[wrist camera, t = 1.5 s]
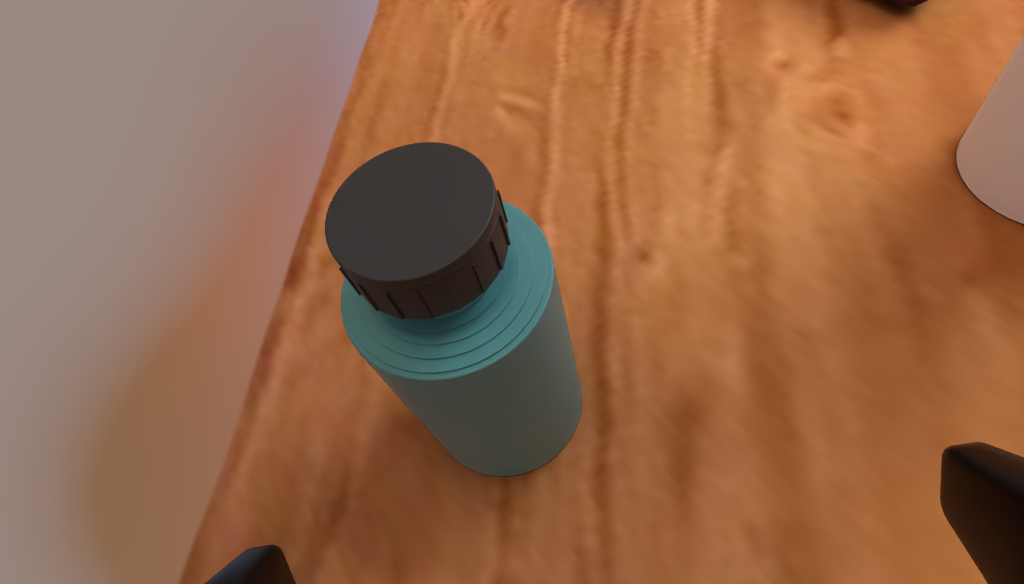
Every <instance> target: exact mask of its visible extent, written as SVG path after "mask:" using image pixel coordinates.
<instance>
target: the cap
mask: <svg viewBox="0 0 1024 584" xmlns="http://www.w3.org/2000/svg"><path fill="white" fill-rule="evenodd" d="M507 222H508V219H507V216H506V213H505V209H504V206H503V203H502V199H501V196H500V193H499V190H497V191H496V188H495V185H494V181H493V179H492V176H491V174H490V172H489V171H488V169H487V167H486V166H485V165H484V164H483V163H482V162H481V161H480V160H479V159H478V158H477V157H476V156H474V155H473V154H471V153H470V152H468V151H466V150H464V149H462V148H459V147H457V146H453V145H450V144H444V143H433V142H426V143H415V144H409V145H405V146H401V147H397V148H394V149H392V150H389V151H386V152H384V153H382V154H380V155H378V156H376V157H374V158H373V159H371V160H369V161H368V162H366V163H365V164H363V165H362V166H360V167H359V168H358V169H357V170H356V171H354V172H353V173H352V174H351V175H350V176H349V177H348V178H347V179H346V180H345V181H344V183H343V184H342V185H341V186H340V188H339V189H338V191H337V192H336V194H335V195H334V197H333V199H332V201H331V203H330V205H329V209H328V212H327V215H326V221H325V235H326V242H327V244H328V247H329V250H330V252H331V254H332V255H333V257H334V258H335V260H336V261H337V262H338V264H339V265H340V266H341V267H340V268H339V269H340V271H341V272H342V273H343V275H344V276H345V277H346V279H347V280H348V281H349V283H350V284H351V285H352V287H353V288H354V289H355V291H356V292H357V293H358V295H359V296H360V295H362V296H363V297H364V298H365V299H366V301H367V302H369V303H370V304H371V305H372V306H373V308H374V309H375V310H376V311H379V310H380V311H381V312H383V313H386V314H388V315H391V316H395V317H398V318H400V319H402V320H403V319H433V318H435V317H439V316H443V315H446V314H449V313H451V312H454V311H456V310H458V309H459V310H460V309H462V307H464V306H466V305H467V304H469V303H471V302H472V301H474V300H475V299H476V298H477V297H479V296H480V295H481V294H482V293H483V292H486V291H487V288H488V287H489V286H490V285H491V284H492V283H493V281H494V280H495V279H496V277H497V276H498V274H499V272H500V271H501V269H502V270H503V268H504V267H503V264H504V262H505V259H506V256H507V252H508V245H511V242H510V239H509V233H508V228H507V224H506V223H507Z"/></svg>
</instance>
